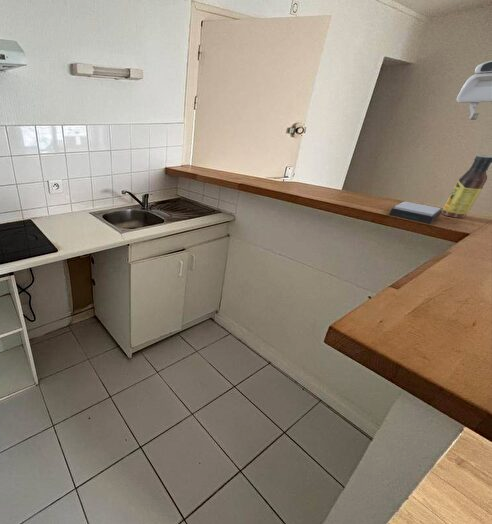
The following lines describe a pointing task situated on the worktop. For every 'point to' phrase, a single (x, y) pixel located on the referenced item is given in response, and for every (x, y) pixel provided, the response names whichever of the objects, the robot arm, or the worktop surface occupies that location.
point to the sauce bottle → (467, 188)
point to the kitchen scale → (416, 212)
